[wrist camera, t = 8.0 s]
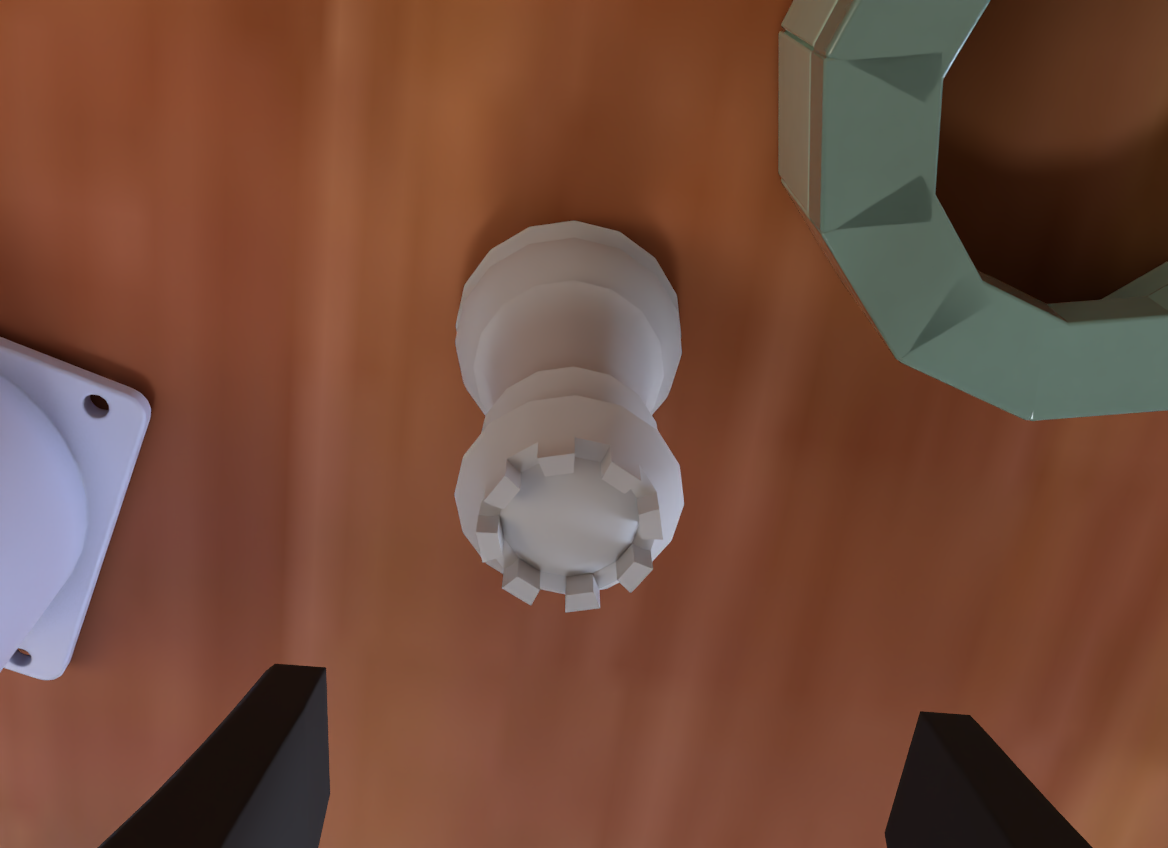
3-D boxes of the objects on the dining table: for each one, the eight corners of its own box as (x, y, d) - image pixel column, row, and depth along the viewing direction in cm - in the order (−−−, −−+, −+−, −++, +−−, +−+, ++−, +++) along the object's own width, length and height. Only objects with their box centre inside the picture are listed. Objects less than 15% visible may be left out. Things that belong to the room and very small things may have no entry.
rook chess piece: (668, 425, 23) (715, 673, 15) (457, 416, 22) (405, 662, 15) (690, 219, 21) (755, 393, 13) (458, 207, 20) (400, 377, 13)
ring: (682, 210, 21) (705, 273, 17) (982, -363, 17) (1089, -429, 13) (1100, 408, 23) (1194, 499, 19) (1455, -60, 19) (1655, -50, 15)
